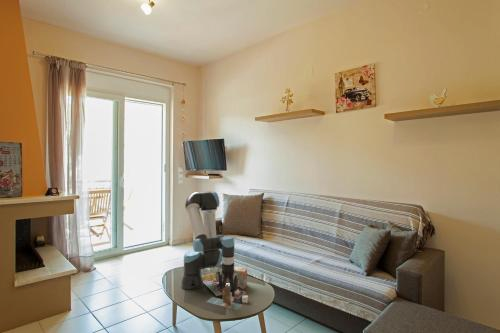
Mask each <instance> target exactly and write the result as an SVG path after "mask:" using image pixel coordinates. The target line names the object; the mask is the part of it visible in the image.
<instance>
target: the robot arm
mask: <svg viewBox="0 0 500 333" xmlns="http://www.w3.org/2000/svg"><path fill="white" fill-rule="evenodd" d="M184 206H185V207H184V208H185V210H186V213H188V217H189V220H190V226H191V229H192V233H193V236H194V239H193V242H192V247H193V248H192V250H189V251H187V252H186V253H184V255H183V276H182V280H181V282H180V283H181V288H182V289H184V290H187V291H192V290H197V289H200V288H202V287H203V286H204V280H203V276H202V273H201V272H202V271H201V270H205V269H210V268H211V269H212V268H213V269H214V268H216V267H220V266H221V269H222V271H221V270H220V271H219V272H218V275H219V285H218V288H219V289H221V295H223V288H224V287H225V285H226V280H227V278H228V279H229V281H230V286H231V292H230V302H233V301H234V296H235V291H237V290H239V288H238V276H239V275H238V274H235V272H234V267H235V238H234V237H233V236H231V235H230V236H229V235H226V236H225V235H222V234H218V235H217V228H216V226H217V224H216V211H217V210H218V208H219V207H220V197H219V195H218V193H217V192H216V191H198V192H197V191H195V192H192V193H190V194H189V195H188V197H187V198H186V200H185V205H184ZM201 213H202V214H203V215H201ZM202 216H203V217H202ZM222 274H223V275H224V276H223V282H222ZM233 275H234V281H233Z"/></svg>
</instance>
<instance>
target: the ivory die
mask: <svg viewBox="0 0 500 333" xmlns="http://www.w3.org/2000/svg"><path fill="white" fill-rule="evenodd" d="M248 302H249V295H247V294H246V295H243V297H242V300H241V303H246V304H248Z"/></svg>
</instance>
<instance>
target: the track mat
mask: <svg viewBox="0 0 500 333" xmlns="http://www.w3.org/2000/svg"><path fill="white" fill-rule="evenodd" d="M206 303H209V304H212V305H216V306H220V307H224V308H227V309H230V310H235V311H239V309H241V307H242V306H243V304H241V303H236V302H232V303H231V304H225V303H223V298H222V299H221V298H218V297H214V296H212V297H210V298H209V299H208V300H206Z"/></svg>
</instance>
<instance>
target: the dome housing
mask: <svg viewBox="0 0 500 333" xmlns="http://www.w3.org/2000/svg"><path fill="white" fill-rule="evenodd" d="M238 290H239V291H240V292H241V295H240V296H239V297H234V301H233V302H234V303H238V304H240V303H241V302H242V297H243V295H247V291H244V290H240V289H238Z"/></svg>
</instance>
